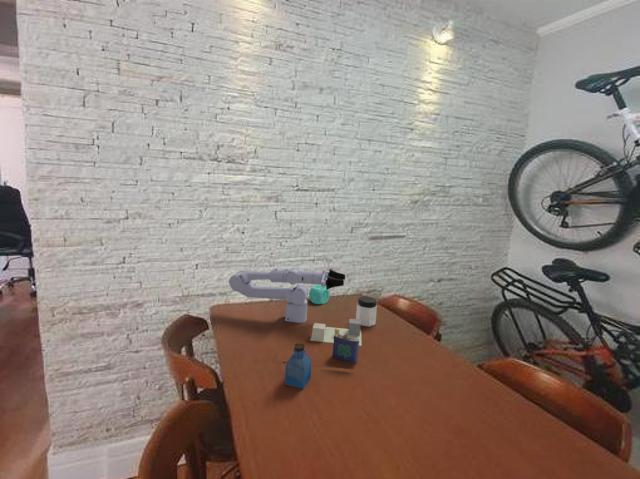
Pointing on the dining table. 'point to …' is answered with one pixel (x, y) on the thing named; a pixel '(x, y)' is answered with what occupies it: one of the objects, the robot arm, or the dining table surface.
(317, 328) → the cream colored cube
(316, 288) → the decorative dice
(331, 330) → the board
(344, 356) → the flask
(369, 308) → the jar
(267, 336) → the dining table surface
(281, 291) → the robot arm
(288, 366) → the perfume bottle
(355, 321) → the grey sharp-edged cube
